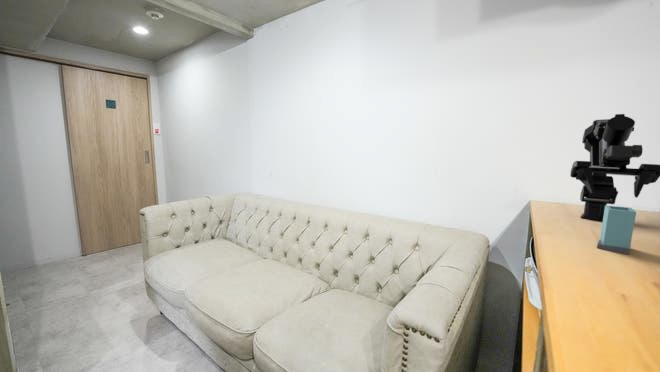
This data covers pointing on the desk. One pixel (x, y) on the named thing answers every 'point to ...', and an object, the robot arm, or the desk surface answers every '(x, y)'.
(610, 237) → the teal sleeve
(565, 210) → the desk surface
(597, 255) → the desk surface
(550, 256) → the desk surface
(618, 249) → the dark grey square plate
